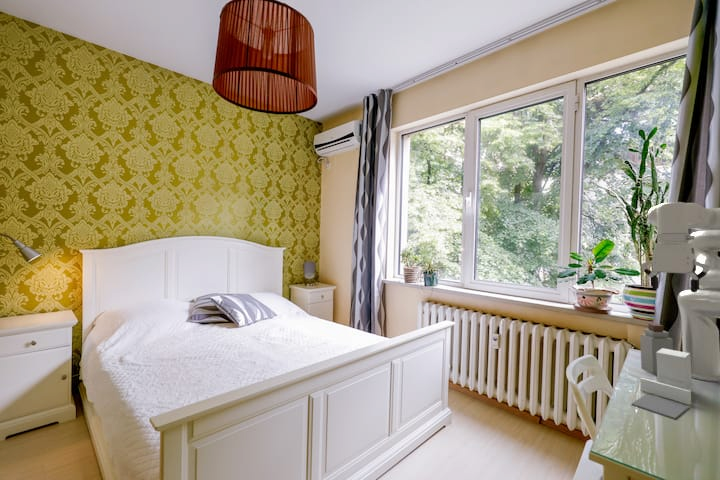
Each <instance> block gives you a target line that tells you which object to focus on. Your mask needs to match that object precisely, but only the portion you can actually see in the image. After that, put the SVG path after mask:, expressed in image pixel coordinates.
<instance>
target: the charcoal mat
mask: <svg viewBox="0 0 720 480" xmlns="http://www.w3.org/2000/svg"><path fill="white" fill-rule="evenodd" d="M631 405H632V406H634V407H636V408H640V409H643V410H647V411H649V412H652V413H655V414H658V415H662V416H663V417H667V418H671V419H673V420H677V418H679V417H680V416H682V414H684V413H685V412H686V411H687V410H689V409H690V405H687V404H684V403H681V402H677V401H674V400H671V399H667V398H664V397H661V396H657V395H654V394H651V393H646V394H645V395H643V396H641V397H639V398H638V399H637V400H635V401H633V402H631Z"/></svg>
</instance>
